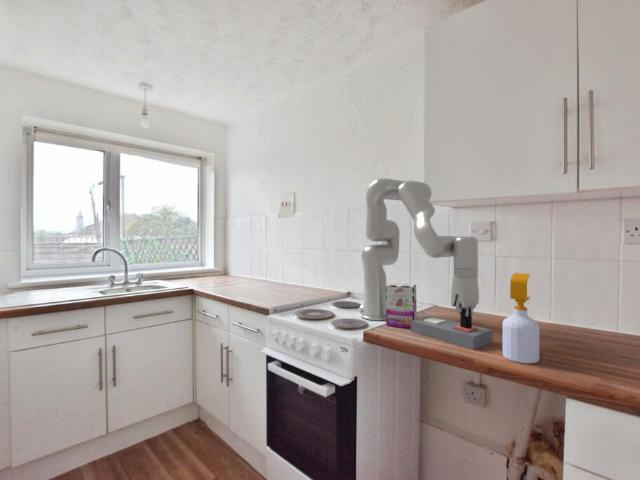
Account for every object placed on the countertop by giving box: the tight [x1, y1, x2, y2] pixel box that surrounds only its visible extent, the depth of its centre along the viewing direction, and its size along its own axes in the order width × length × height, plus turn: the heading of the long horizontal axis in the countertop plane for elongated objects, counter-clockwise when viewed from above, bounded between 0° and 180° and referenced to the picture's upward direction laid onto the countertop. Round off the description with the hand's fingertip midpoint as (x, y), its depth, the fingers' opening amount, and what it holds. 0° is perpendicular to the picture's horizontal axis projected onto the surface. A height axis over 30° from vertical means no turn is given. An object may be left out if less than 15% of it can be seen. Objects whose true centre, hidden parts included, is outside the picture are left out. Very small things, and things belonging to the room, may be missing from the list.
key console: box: [410, 315, 493, 350], centre depth 116 cm, size 24×12×4 cm, turn 36°
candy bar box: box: [385, 283, 418, 330], centre depth 129 cm, size 11×5×16 cm, turn 62°
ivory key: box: [424, 318, 445, 325], centre depth 121 cm, size 5×5×2 cm
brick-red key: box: [454, 325, 478, 333], centre depth 111 cm, size 5×5×2 cm
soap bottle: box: [502, 272, 540, 365], centre depth 95 cm, size 9×9×25 cm
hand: (466, 327), depth 111 cm, fingers closed
